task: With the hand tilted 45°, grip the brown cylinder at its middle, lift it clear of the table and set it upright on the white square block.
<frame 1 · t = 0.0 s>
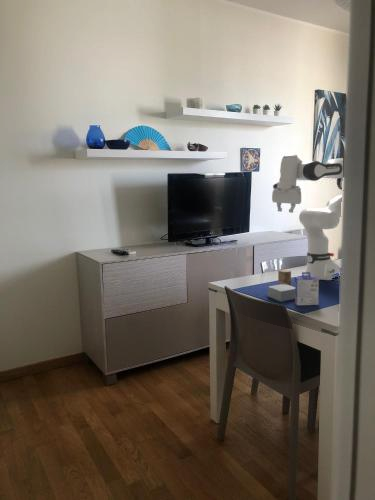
hand: (285, 212, 218), 39 cm above the table, tool pointing down, fingers open, 8 cm apart
white square block: (282, 297, 199), on the table
brown cylinder: (284, 289, 212), on the table
ink cartridge box: (306, 304, 189), on the table
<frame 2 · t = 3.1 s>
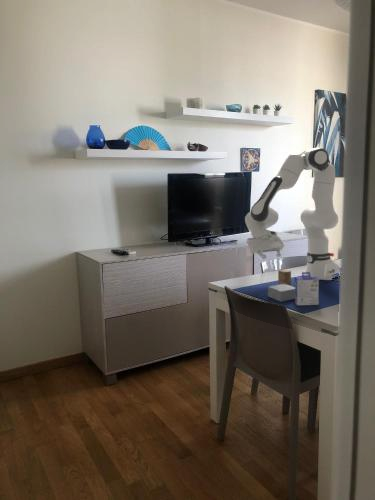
hand: (272, 257, 218), 15 cm above the table, tool tilted 45°, fingers open, 8 cm apart
nothing on the table moved.
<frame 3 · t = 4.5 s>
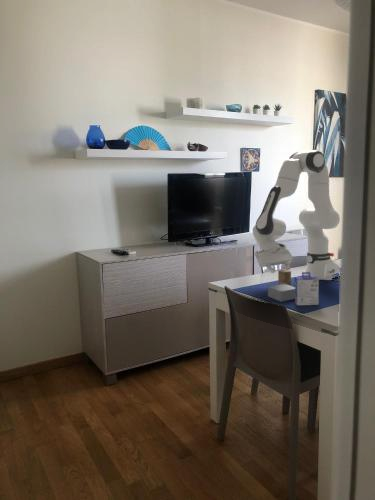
hand: (281, 271, 212), 9 cm above the table, tool tilted 45°, fingers open, 8 cm apart
nothing on the table moved.
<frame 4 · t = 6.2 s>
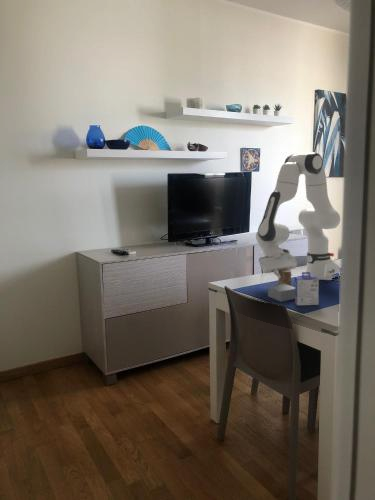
hand: (285, 277, 210), 7 cm above the table, tool tilted 45°, fingers closed on brown cylinder, 4 cm apart
brown cylinder: (284, 289, 212), on the table, touching gripper
everything else where it was.
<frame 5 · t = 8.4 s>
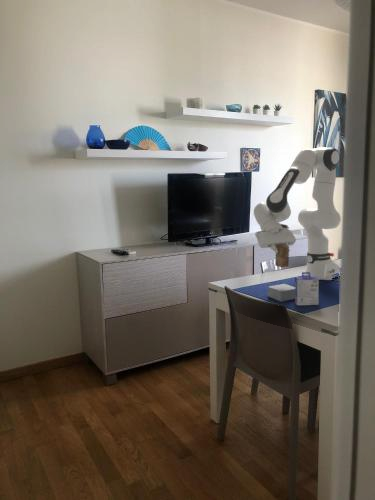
hand: (283, 252, 200), 21 cm above the table, tool tilted 45°, fingers closed on brown cylinder, 4 cm apart
brown cylinder: (281, 265, 202), point 14 cm above the table, touching gripper
everything else where it was.
when the fingers open (13 cm above the table, at t = 10.8 s): brown cylinder drops 1 cm, resting on white square block.
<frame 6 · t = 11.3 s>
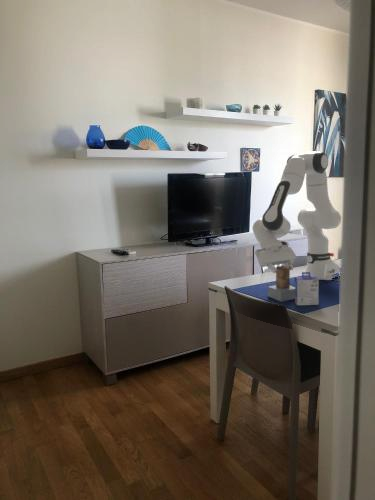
hand: (283, 270, 196), 13 cm above the table, tool tilted 45°, fingers open, 8 cm apart
brown cylinder: (282, 287, 198), point 5 cm above the table, touching white square block
everything else where it was.
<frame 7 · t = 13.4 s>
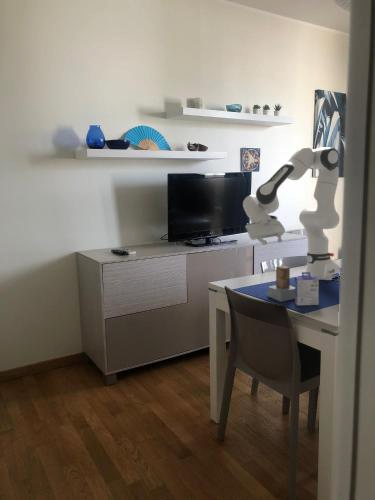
hand: (273, 243, 206), 25 cm above the table, tool tilted 45°, fingers open, 8 cm apart
nothing on the table moved.
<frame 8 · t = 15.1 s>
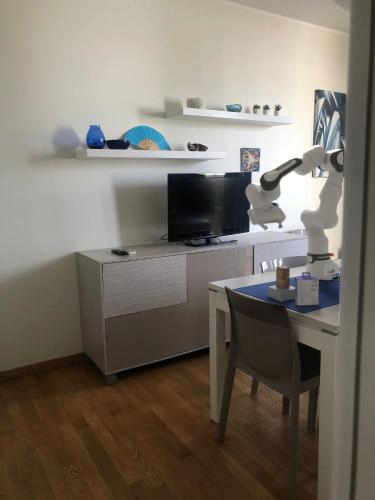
hand: (273, 228, 211), 31 cm above the table, tool tilted 45°, fingers open, 8 cm apart
nothing on the table moved.
at the end: brown cylinder inside the target area on the white square block (0.1 cm from its centre), point 5.0 cm above the white square block's base; brown cylinder tilted 0°; the gripper is holding nothing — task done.
